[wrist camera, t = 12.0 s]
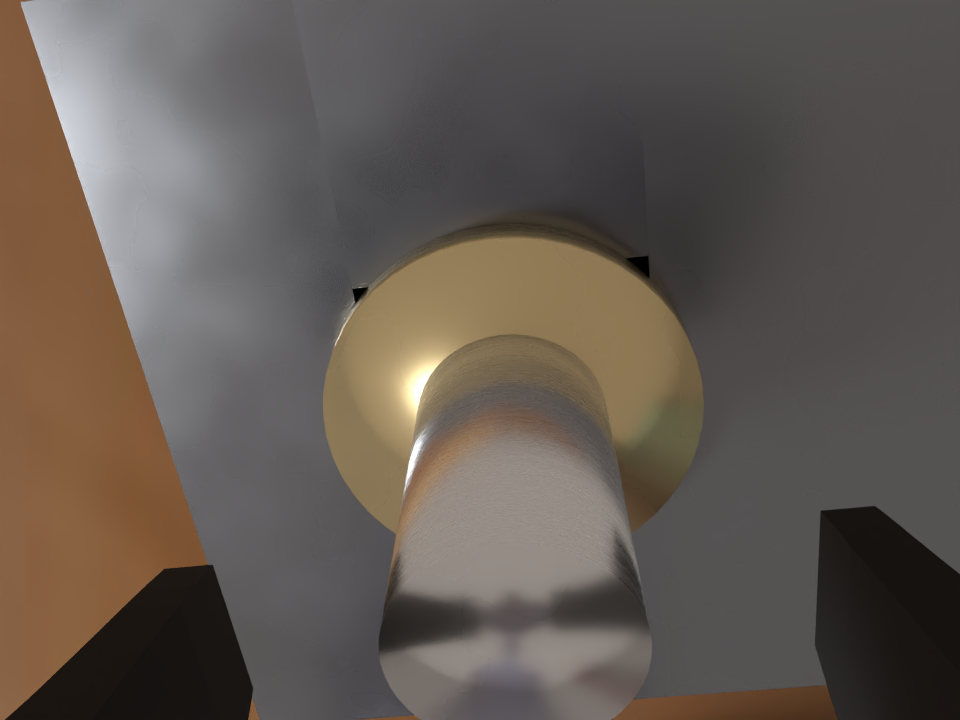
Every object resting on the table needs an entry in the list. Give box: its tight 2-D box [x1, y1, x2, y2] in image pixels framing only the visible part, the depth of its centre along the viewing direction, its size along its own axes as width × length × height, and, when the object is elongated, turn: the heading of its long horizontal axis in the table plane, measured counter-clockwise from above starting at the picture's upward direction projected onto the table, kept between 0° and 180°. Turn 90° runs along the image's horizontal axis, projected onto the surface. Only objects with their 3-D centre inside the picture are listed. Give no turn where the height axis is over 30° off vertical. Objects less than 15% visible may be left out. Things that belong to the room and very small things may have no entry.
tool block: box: [21, 0, 960, 720], centre depth 17 cm, size 21×26×3 cm
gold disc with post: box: [323, 224, 704, 720], centre depth 14 cm, size 6×6×8 cm
